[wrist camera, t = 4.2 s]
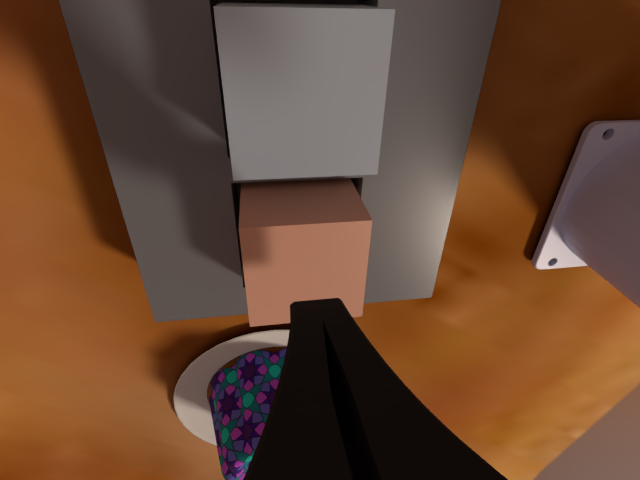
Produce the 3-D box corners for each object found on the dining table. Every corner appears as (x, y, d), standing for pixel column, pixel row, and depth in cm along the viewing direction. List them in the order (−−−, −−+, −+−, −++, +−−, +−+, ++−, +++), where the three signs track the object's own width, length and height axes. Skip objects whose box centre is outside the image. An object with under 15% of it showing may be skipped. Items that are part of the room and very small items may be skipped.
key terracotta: (349, 177, 14) (372, 220, 12) (344, 263, 16) (362, 316, 14) (240, 182, 14) (238, 228, 11) (250, 270, 16) (250, 326, 13)
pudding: (391, 396, 27) (418, 474, 23) (245, 459, 29) (244, 543, 24) (314, 287, 20) (331, 367, 16) (131, 377, 22) (101, 472, 18)
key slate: (361, 4, 11) (395, 9, 9) (352, 138, 13) (377, 174, 11) (222, 2, 11) (213, 5, 8) (236, 141, 13) (233, 180, 10)
